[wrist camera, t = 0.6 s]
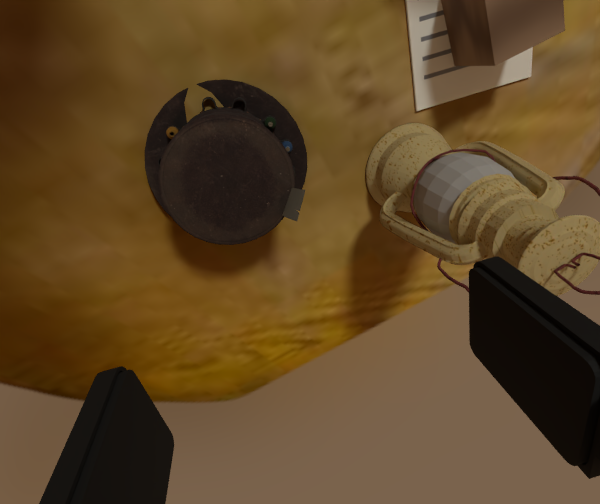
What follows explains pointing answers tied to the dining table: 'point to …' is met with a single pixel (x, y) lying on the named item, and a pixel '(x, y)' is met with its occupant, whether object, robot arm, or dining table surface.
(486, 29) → the walnut block
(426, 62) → the letter
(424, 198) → the lantern
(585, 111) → the dining table surface
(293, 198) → the top hat
